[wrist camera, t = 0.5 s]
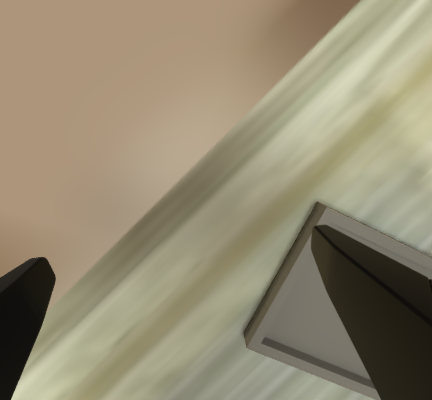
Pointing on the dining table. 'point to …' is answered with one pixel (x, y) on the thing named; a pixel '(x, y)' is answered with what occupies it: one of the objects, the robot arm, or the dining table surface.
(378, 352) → the robot arm
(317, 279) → the tray
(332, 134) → the dining table surface
